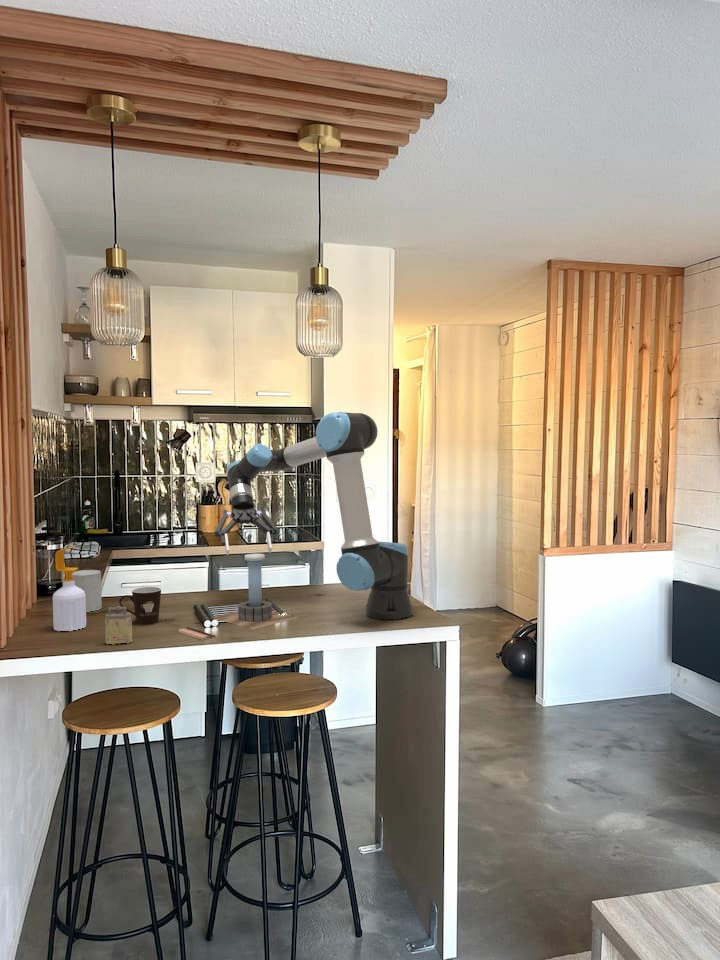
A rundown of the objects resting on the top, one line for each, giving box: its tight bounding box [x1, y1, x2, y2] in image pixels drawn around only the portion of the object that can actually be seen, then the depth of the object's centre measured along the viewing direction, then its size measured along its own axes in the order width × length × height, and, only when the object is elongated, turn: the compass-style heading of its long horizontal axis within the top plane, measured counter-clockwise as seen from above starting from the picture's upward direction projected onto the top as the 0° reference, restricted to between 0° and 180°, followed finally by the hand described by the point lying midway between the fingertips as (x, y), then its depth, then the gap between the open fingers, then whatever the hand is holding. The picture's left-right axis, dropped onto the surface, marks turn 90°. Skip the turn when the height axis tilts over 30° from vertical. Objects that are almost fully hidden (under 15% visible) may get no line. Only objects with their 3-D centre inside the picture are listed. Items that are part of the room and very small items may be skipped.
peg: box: [244, 553, 266, 607], centre depth 214 cm, size 6×6×19 cm
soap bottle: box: [52, 545, 87, 632], centre depth 208 cm, size 9×9×25 cm
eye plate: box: [211, 600, 300, 630], centre depth 215 cm, size 20×18×6 cm
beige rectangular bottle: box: [104, 605, 133, 645], centre depth 194 cm, size 7×4×10 cm, turn 101°
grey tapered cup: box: [72, 569, 103, 613], centre depth 231 cm, size 10×10×12 cm
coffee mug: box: [118, 586, 162, 626], centre depth 215 cm, size 12×9×10 cm
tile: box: [178, 626, 216, 641], centre depth 205 cm, size 12×12×1 cm
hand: (249, 551), depth 224 cm, fingers open, 13 cm apart
